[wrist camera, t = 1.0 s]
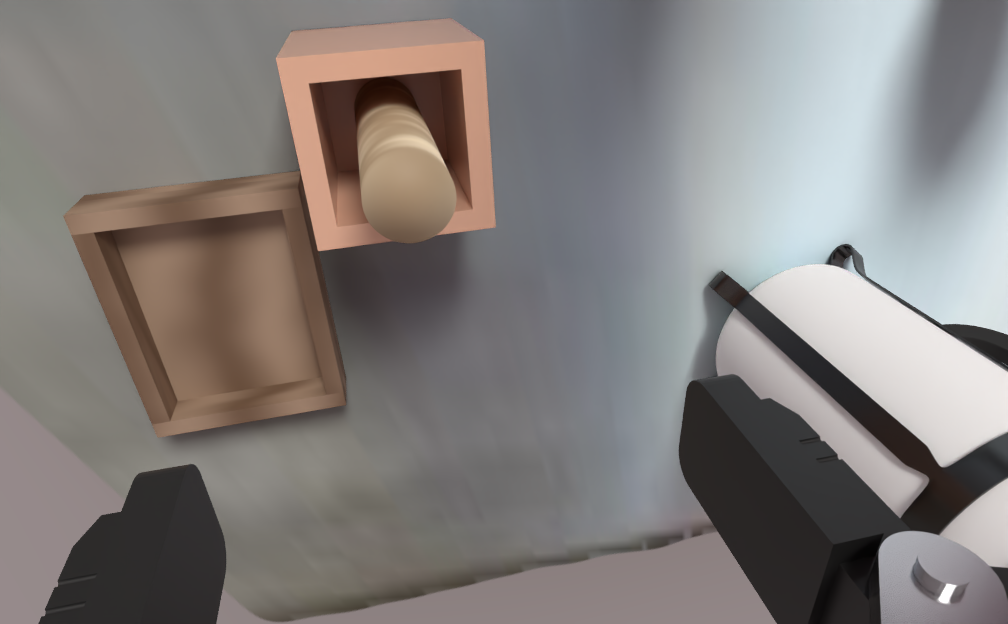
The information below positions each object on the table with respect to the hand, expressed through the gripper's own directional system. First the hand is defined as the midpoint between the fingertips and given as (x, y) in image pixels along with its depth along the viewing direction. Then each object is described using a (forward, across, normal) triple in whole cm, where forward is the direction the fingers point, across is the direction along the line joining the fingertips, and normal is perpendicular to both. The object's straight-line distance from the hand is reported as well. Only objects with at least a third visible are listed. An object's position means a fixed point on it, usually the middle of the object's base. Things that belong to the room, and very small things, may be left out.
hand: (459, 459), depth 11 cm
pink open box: (+28, 0, 0) cm, 28 cm away
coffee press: (+28, -28, +18) cm, 44 cm away
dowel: (+27, 0, 0) cm, 27 cm away
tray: (+28, +10, +10) cm, 31 cm away
